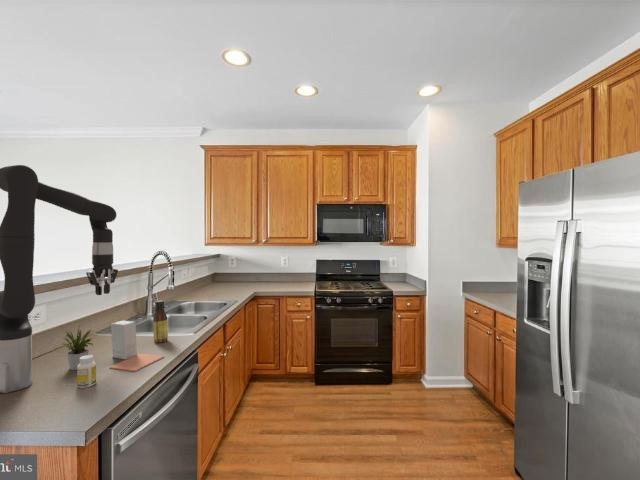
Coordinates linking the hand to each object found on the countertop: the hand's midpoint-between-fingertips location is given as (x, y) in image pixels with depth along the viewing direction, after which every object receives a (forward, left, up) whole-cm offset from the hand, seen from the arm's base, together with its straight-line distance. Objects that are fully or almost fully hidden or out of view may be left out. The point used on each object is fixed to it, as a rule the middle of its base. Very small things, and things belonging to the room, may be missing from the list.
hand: (102, 294), depth 144 cm
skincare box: (+4, -7, -27) cm, 29 cm away
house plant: (-12, +1, -27) cm, 30 cm away
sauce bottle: (+26, -7, -27) cm, 38 cm away
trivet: (0, -18, -27) cm, 33 cm away
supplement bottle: (-22, -17, -27) cm, 39 cm away
